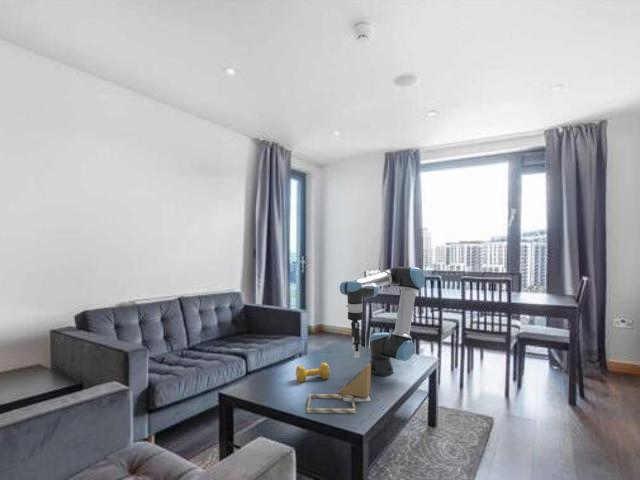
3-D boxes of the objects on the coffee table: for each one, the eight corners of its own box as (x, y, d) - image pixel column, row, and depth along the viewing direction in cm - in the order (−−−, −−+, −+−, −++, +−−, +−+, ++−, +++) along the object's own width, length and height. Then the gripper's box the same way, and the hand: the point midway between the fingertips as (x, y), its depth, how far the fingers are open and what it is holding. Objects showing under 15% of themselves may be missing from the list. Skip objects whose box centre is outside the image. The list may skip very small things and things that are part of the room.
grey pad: (367, 391, 189) (367, 389, 189) (370, 401, 176) (370, 400, 176) (342, 390, 189) (342, 389, 189) (343, 401, 176) (343, 400, 176)
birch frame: (353, 397, 181) (353, 394, 181) (355, 413, 164) (355, 409, 164) (309, 397, 182) (309, 394, 182) (306, 412, 165) (306, 409, 165)
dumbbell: (299, 384, 199) (299, 369, 199) (294, 379, 207) (294, 364, 208) (331, 380, 205) (331, 365, 206) (325, 374, 214) (325, 360, 214)
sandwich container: (341, 389, 190) (342, 359, 192) (370, 393, 185) (371, 362, 187) (336, 393, 182) (337, 362, 184) (366, 397, 177) (367, 365, 179)
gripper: (346, 307, 197) (346, 346, 197) (349, 316, 173) (349, 361, 172) (360, 307, 197) (360, 346, 197) (365, 316, 172) (365, 361, 172)
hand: (355, 353), depth 185 cm, fingers open, 13 cm apart
